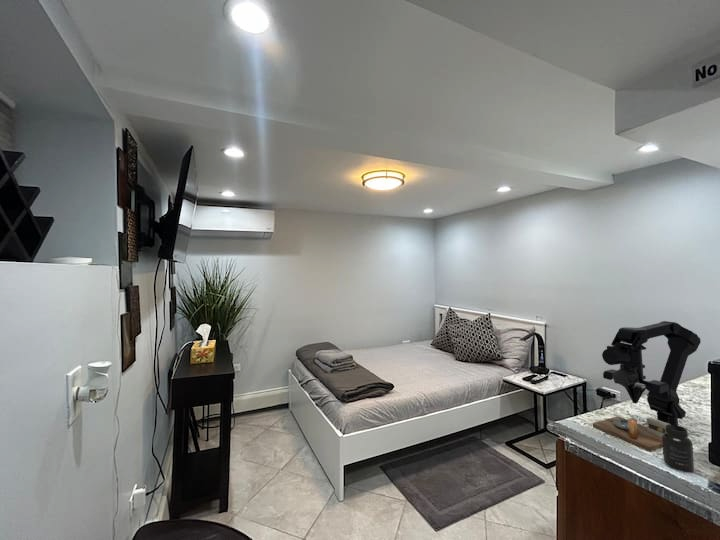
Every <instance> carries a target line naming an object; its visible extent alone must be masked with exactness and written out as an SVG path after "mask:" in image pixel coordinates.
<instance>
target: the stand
mask: <svg viewBox="0 0 720 540" xmlns="http://www.w3.org/2000/svg"><path fill="white" fill-rule="evenodd" d="M616 419H625V420H627V421H628V419H627V418H624V417H621V416H618V415H617V416H614V417H610V418H606V419H604V420H600V421H595V422H593V423H592V427H593V428H594V429H596V430H599V431H601V432H604V433H606V434H608V435H611V436H612V437H615V438H617V439H619V440H622V441H623V442H627V443H629V444H632V445H634V446H636V447H638V448H641V449H643V450H644V451H647V452H650V453H651V452H653V451H657V450H660V449H663V443H662V435H663V434H664V433H666V425H669V424H668V423H665V422H663V421H660V420H657V418H653V417H648V418H646V426H645V425H643V424H640V423H638V422H637V430H638V438H632V437H630V436H629V432H628V431H627V430H624V429H621V428H618V427H616V426H615V425H614V422H613V421H614V420H616Z"/></svg>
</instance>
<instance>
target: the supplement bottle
mask: <svg viewBox="0 0 720 540" xmlns="http://www.w3.org/2000/svg"><path fill="white" fill-rule="evenodd" d="M688 434H689V433H688V430H687V428H685V427H683V426H682V425H681V426H680V425H678V426H677V425H671V424H669V425H666V433H664V434H663V435H662V443H663V447H662V453H663V454H662V456H663V457H662V458H663V462H664V463H665V464H666V466H668V467H670V468H671V469H674V470H677V471H680V472H687V473H690V472H693V471H694V469H695V467H694V466H695V463H694V462H695V461H694V447H693V446H694V445H693V441H692V440H691V439H690V438H689V435H688Z"/></svg>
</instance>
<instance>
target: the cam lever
mask: <svg viewBox="0 0 720 540" xmlns="http://www.w3.org/2000/svg"><path fill="white" fill-rule="evenodd" d="M625 419H626V418H624V419H616V420H614V421H613V422H614V425H615V426H616V427H618V428H621V429H624V430H627V431H628V432H629V436H630V437H632V438H638V430H637V423H638V420H637V419H635V418H631V417H629V418H628V419H627V420H628V421H627V420H625Z"/></svg>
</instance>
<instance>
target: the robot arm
mask: <svg viewBox="0 0 720 540" xmlns="http://www.w3.org/2000/svg"><path fill="white" fill-rule="evenodd" d="M661 336H664V337H665V338H666V339H667V342H666V343H667V346H668V348H669V350H670V351H669V354H668V356H667V359H666V363H665V366H664V369H663V371H662V374H661V377H660V380H657V379H653V380H650V381H648V380H645V379H647V376H646V375H644V369H645V368H646V365H645V364H643V354H642V352H643V351H644V350H645V351H646V350H647V347H645V346H644V345H643V344H646V343H647V342H648V341H649V339H653V338H658V337H661ZM699 345H701V338H700V337H699V336H698V334H697V333H695V332H694V331H692V330H690V329H689V328H685V327H684V326H682V325H681V324H679V323H677V322H676V321H675V322H674V321H668V320H667V321H666V320H663V321H660V322H657V323H654V324H649V325H644V326H639V327H628V326H627V327H625V326H624V327H620V328H618V331H617V333H616V334H615V336H614V338H613V339H612V341H611V343H610V345H606V349H605V350H603V352H602V354H601V357H602V359H603V361H604V363H606V364H608V365H609V366H615V365H619V369H612V368H611V369H607V370H604V371H603V373H602V377H603V379H604V380H605V379H606V380H609V381H612V380H613V382H614V384H617V385H620V386H622V387H623V388H624V389H625V390H626V391H627V393H628V395H629V397H630V399H631V401H632V403H633V404H636V405H637V404H638V403H639V400H640V399H641V396H642V395H643V394H644V392H645V391H646V390H647V395H646V401H647V403H648V407H649V408H650V410H651V411H654V412H656V419H657V420H660V421H663V422H665V423H668V424H671V425H677V426H679V419H680V420H683V419H684V418H685V417H686V411H685V409H683V407H682V406H681V405H680V398H679V394H678V392H677V391H678V387H679V383H680V382H681V381H680V380H681V379H682V376H683V372H684V368H685V367H686V364H687V359H688V358H689V356H691V355H693V354H694V353H695V352H697V350H698V348H699Z"/></svg>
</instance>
